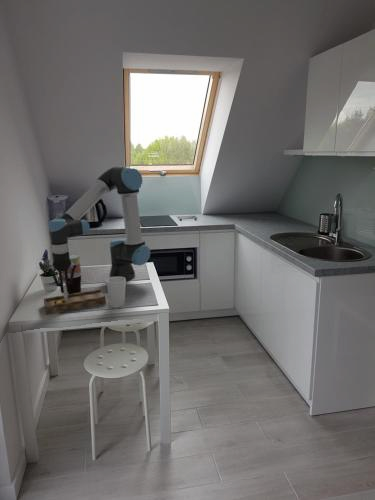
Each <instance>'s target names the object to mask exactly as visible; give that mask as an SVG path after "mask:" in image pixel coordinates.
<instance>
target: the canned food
mask: <svg viewBox="0 0 375 500" xmlns="http://www.w3.org/2000/svg"><path fill="white" fill-rule="evenodd" d="M69 257H70V261H71V263H73V264H75V265H76V268H75V270H74V273H80V274H81V275H82V269H81V259H80V254H76V253H75V254H73V253H72V254H70V253H69ZM70 273H71V265H70V267H69V268H68V270H67V274H70ZM64 276H65V274H64V271H62V279H65V277H64Z"/></svg>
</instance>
